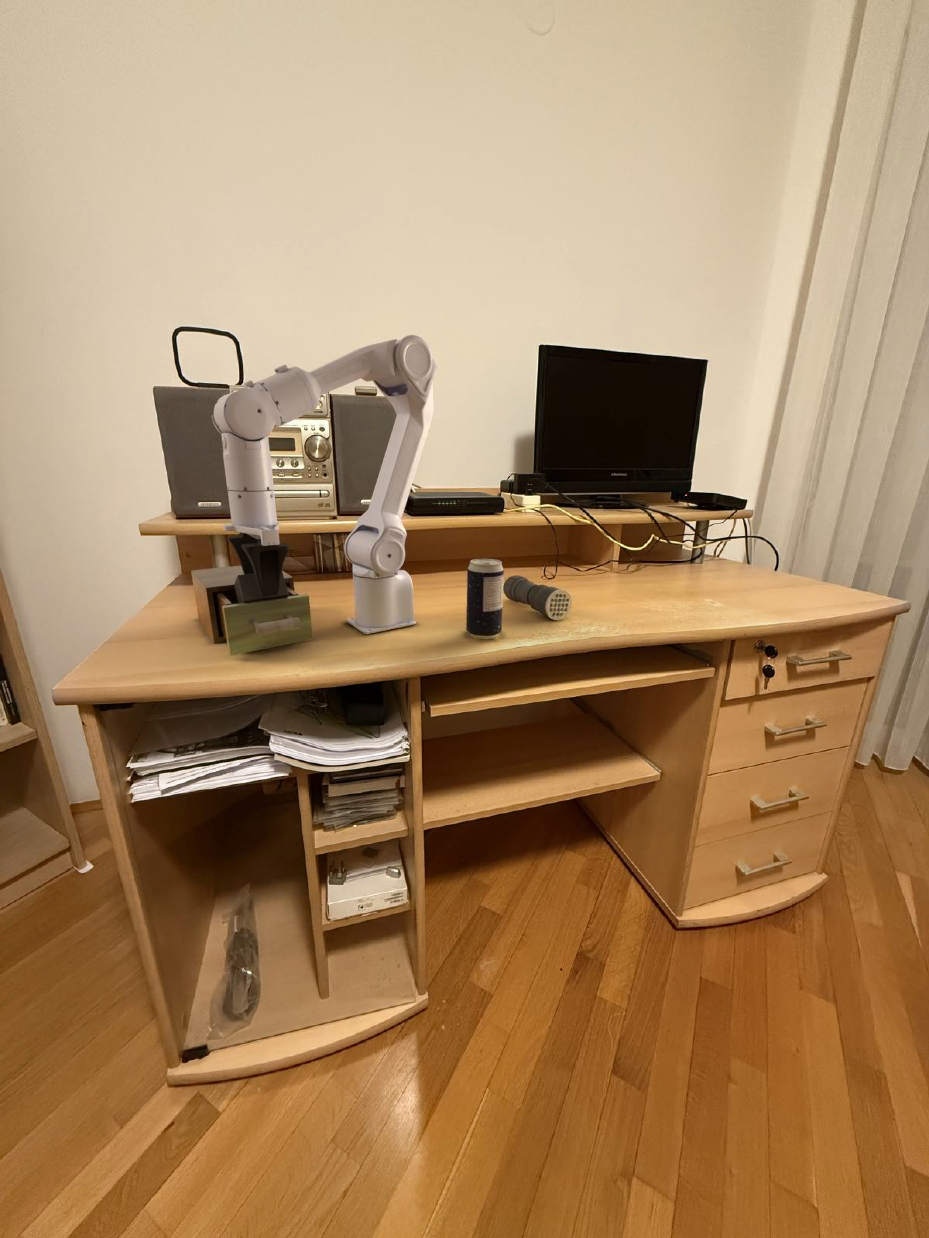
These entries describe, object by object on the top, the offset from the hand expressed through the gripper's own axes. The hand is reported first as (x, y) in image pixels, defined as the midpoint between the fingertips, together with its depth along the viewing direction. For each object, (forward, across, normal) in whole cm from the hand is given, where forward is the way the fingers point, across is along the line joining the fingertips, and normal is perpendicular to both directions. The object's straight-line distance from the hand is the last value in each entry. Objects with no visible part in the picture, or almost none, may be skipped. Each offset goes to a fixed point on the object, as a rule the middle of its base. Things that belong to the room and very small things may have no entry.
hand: (262, 589), depth 69 cm
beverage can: (+9, +13, +30) cm, 34 cm away
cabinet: (+9, -13, 0) cm, 16 cm away
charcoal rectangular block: (+2, 0, 0) cm, 2 cm away
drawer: (+8, -1, 0) cm, 8 cm away
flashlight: (+9, +7, +47) cm, 48 cm away
